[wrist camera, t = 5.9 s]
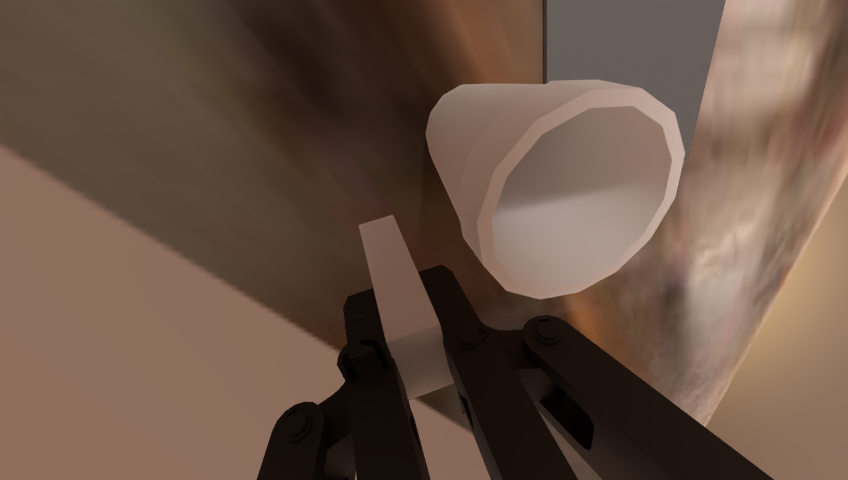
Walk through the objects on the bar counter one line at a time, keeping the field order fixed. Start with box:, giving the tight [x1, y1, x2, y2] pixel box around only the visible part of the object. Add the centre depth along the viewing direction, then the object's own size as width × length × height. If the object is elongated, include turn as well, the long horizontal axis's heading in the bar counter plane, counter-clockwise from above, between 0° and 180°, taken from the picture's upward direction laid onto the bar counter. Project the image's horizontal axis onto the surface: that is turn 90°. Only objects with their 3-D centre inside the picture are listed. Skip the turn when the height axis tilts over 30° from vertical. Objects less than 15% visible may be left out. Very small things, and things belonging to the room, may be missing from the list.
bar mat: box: [544, 0, 725, 160], centre depth 27 cm, size 16×14×1 cm
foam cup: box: [425, 80, 685, 299], centre depth 20 cm, size 10×9×13 cm
